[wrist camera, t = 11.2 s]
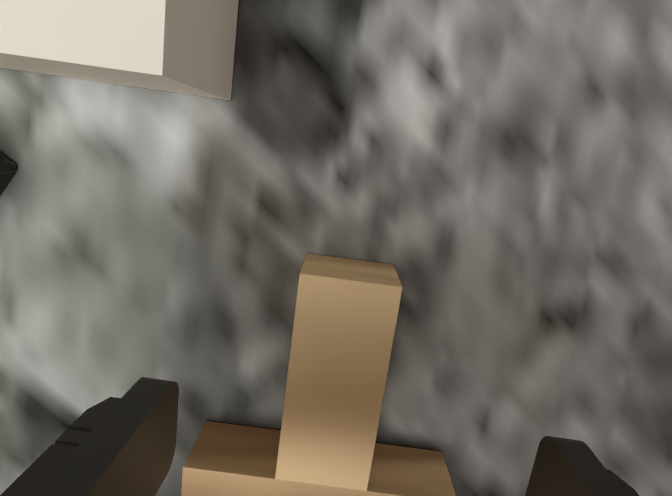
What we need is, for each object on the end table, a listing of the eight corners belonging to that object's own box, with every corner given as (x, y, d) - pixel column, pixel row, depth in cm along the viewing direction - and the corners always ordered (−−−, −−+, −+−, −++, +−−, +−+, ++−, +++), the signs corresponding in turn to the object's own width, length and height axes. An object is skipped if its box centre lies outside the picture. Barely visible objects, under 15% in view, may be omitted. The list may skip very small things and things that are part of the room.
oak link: (219, 240, 15) (196, 259, 13) (480, 276, 16) (504, 301, 13) (191, 607, 19) (169, 675, 17) (402, 634, 19) (410, 705, 17)
